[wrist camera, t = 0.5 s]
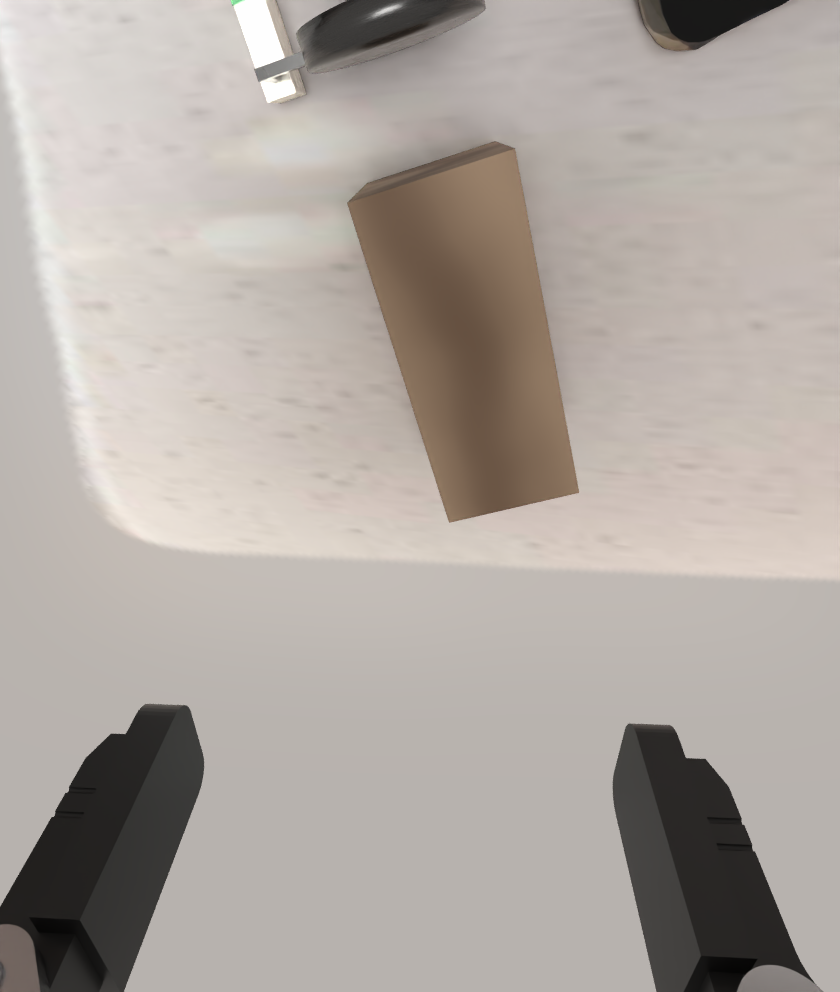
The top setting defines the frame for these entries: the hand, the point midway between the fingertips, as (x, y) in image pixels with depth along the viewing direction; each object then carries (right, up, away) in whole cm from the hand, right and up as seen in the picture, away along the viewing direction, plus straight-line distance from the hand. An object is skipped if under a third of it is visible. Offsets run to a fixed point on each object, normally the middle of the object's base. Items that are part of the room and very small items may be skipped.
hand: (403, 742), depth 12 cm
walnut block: (+3, +14, +20) cm, 25 cm away
